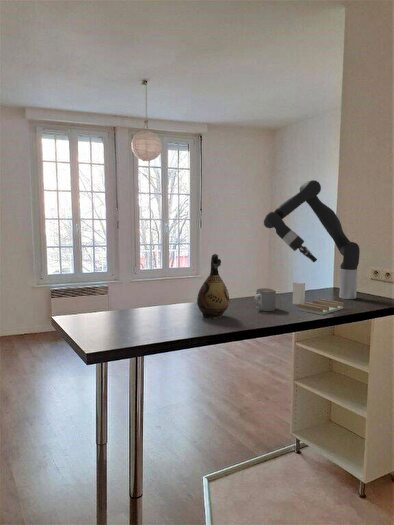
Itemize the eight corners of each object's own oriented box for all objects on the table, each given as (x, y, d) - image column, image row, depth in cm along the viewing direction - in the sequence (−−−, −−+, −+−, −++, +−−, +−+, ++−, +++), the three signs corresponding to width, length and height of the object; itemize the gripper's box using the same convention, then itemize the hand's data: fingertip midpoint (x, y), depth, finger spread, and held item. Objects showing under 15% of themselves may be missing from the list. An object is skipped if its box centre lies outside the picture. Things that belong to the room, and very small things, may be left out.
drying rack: (319, 304, 220) (319, 298, 220) (343, 308, 209) (343, 302, 209) (297, 309, 207) (297, 303, 207) (321, 314, 196) (322, 308, 196)
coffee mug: (267, 305, 217) (267, 287, 215) (279, 309, 208) (279, 290, 207) (246, 308, 210) (247, 289, 209) (258, 312, 201) (259, 292, 200)
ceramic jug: (231, 320, 186) (232, 256, 183) (198, 320, 185) (198, 256, 182) (226, 311, 203) (226, 252, 200) (195, 312, 202) (195, 252, 199)
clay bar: (296, 302, 224) (297, 281, 223) (304, 304, 220) (305, 282, 219) (292, 303, 221) (293, 282, 220) (300, 305, 218) (300, 283, 216)
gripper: (297, 234, 210) (320, 256, 207) (299, 235, 224) (321, 255, 220) (287, 245, 212) (310, 266, 208) (289, 245, 225) (311, 265, 222)
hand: (315, 261), depth 214 cm, fingers open, 8 cm apart
